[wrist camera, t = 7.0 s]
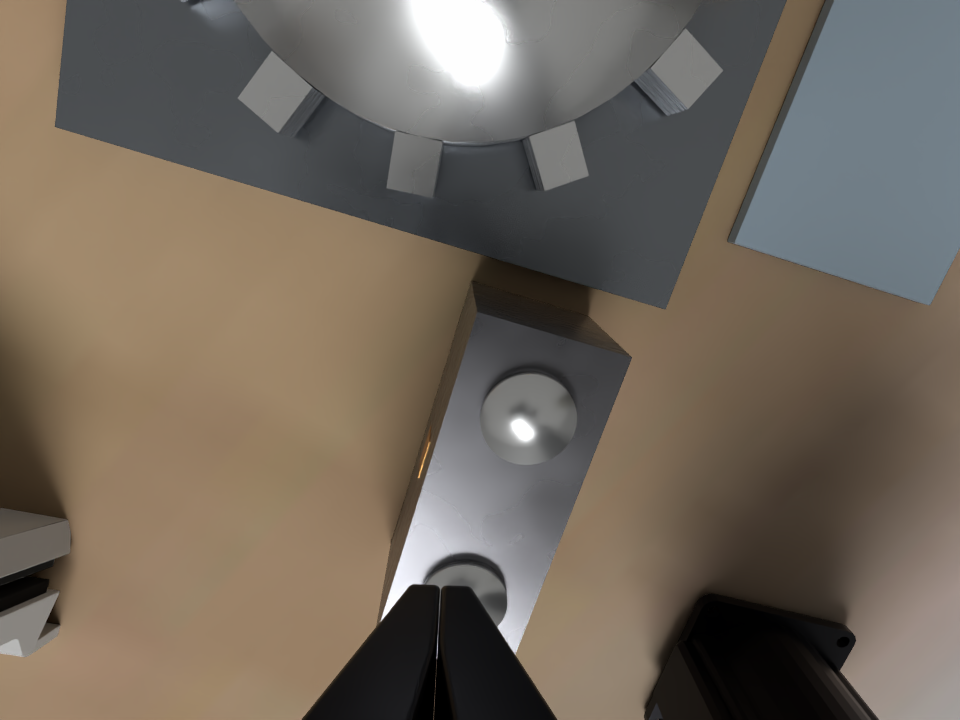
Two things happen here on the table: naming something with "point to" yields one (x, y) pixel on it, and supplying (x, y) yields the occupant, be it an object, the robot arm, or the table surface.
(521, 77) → the sprocket wheel
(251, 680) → the table surface
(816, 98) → the seat pad
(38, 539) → the grey half-round block
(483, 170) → the base plate
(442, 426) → the chain link
